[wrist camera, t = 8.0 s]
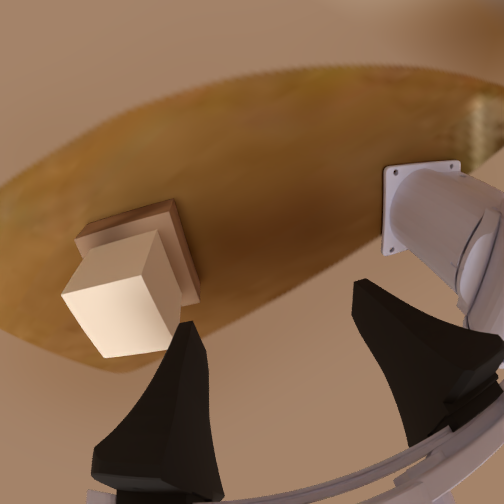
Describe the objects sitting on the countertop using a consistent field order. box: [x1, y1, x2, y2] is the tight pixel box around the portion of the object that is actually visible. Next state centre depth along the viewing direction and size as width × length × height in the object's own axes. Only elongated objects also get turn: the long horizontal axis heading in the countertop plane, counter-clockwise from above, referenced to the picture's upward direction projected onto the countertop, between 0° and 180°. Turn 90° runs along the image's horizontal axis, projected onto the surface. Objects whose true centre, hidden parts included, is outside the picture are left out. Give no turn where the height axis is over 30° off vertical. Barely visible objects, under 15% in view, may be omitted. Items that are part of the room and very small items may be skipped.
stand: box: [74, 199, 200, 306], centre depth 18 cm, size 7×7×2 cm
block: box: [61, 230, 182, 358], centre depth 15 cm, size 5×5×5 cm
